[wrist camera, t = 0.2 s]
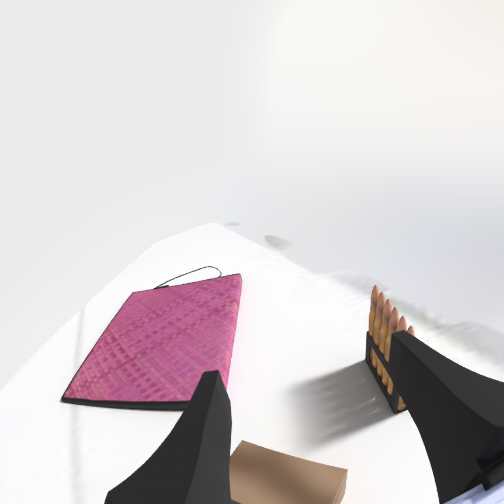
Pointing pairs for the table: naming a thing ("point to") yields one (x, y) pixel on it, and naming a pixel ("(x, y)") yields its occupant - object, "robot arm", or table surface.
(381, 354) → the ammunition clip
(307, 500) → the collar block
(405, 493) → the table surface
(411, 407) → the robot arm
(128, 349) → the laptop bag
